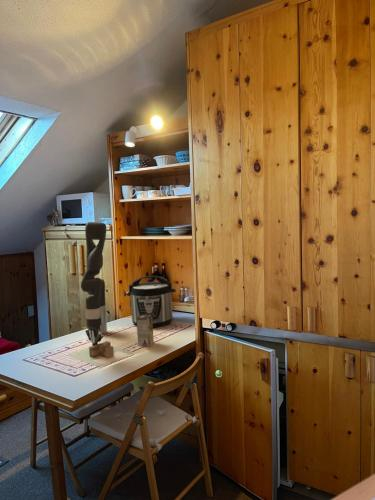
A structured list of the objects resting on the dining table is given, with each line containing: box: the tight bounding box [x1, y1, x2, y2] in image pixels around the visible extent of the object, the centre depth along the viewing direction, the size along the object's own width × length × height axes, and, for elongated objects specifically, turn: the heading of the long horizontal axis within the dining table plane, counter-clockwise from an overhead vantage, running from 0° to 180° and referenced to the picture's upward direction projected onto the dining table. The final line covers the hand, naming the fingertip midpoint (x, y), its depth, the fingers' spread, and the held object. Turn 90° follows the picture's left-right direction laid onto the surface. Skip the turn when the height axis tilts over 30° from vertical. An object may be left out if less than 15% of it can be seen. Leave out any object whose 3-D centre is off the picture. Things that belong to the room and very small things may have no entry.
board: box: [66, 346, 134, 369], centre depth 194 cm, size 27×22×1 cm
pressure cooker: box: [125, 275, 176, 328], centre depth 252 cm, size 30×28×32 cm
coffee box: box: [136, 315, 155, 349], centre depth 208 cm, size 9×6×16 cm
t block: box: [88, 340, 114, 359], centre depth 192 cm, size 10×11×5 cm
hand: (95, 349), depth 196 cm, fingers closed
